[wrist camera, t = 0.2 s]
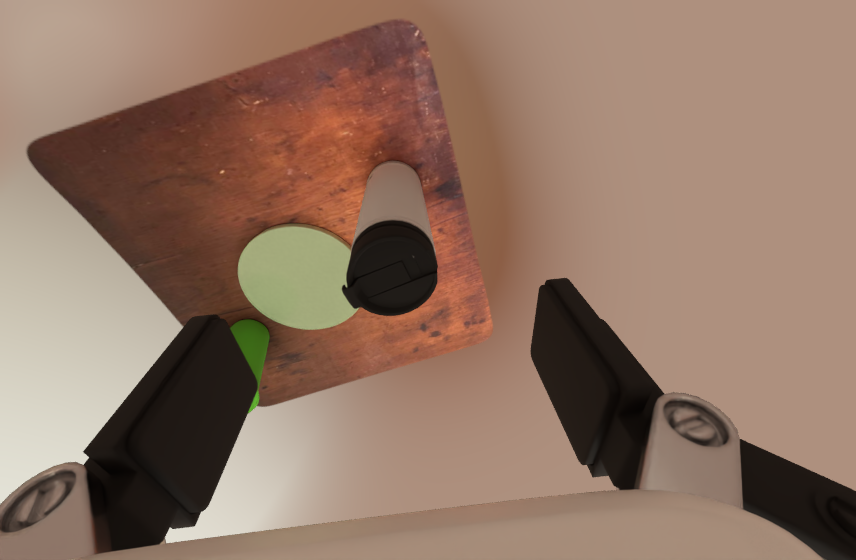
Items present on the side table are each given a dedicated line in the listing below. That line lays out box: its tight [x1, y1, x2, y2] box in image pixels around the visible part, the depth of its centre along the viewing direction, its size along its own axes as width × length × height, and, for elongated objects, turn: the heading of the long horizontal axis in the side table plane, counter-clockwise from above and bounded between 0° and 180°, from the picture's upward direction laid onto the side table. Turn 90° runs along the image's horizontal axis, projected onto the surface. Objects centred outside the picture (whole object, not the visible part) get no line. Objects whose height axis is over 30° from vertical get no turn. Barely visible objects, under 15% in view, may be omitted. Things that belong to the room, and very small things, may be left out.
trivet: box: [238, 223, 359, 330], centre depth 44 cm, size 16×16×1 cm
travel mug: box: [342, 160, 438, 316], centre depth 30 cm, size 6×7×20 cm
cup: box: [230, 319, 270, 413], centre depth 44 cm, size 9×9×11 cm
